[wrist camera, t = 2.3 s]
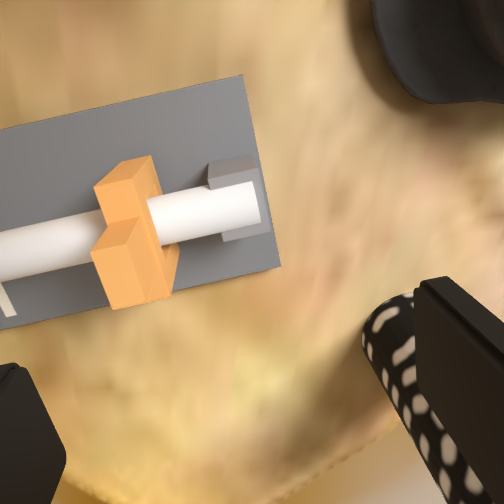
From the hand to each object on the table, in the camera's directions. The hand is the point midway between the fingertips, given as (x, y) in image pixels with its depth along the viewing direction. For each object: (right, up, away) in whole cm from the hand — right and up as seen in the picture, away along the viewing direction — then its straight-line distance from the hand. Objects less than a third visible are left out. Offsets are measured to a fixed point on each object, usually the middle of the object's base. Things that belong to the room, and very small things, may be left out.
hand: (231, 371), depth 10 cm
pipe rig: (-13, +5, +21) cm, 26 cm away
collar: (-6, +6, +19) cm, 21 cm away
